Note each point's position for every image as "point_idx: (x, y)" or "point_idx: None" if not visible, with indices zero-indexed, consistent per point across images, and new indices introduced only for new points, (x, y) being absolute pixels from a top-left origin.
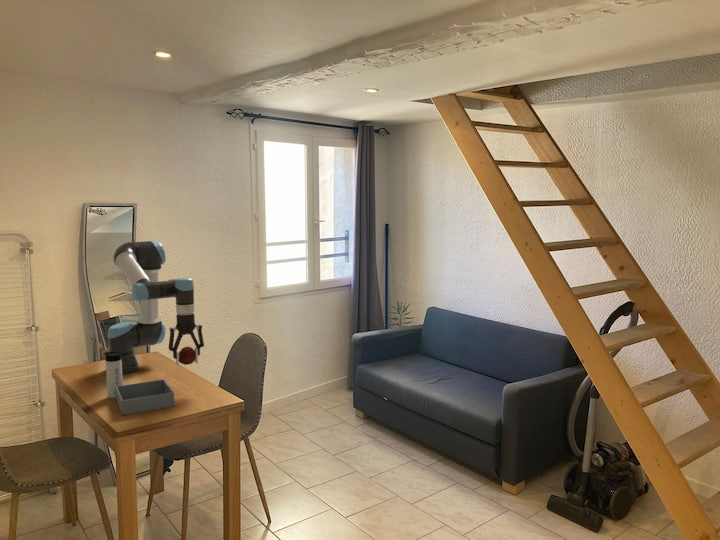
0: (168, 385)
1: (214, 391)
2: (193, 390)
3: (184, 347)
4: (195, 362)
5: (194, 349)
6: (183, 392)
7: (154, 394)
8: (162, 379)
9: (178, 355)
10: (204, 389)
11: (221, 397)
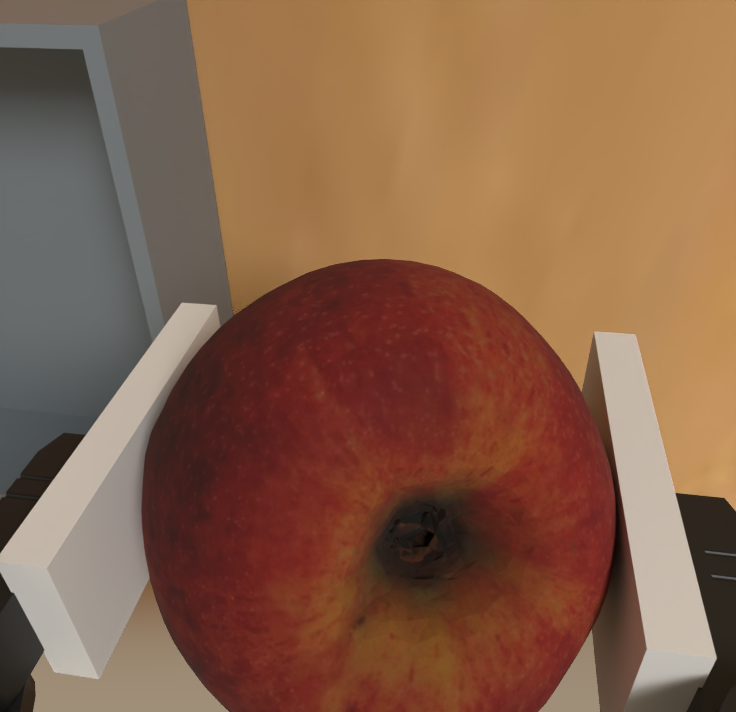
0: (161, 329)
1: (722, 285)
2: (528, 118)
3: (253, 704)
4: (583, 389)
5: (635, 608)
6: (396, 127)
7: (61, 62)
8: (70, 29)
9: (139, 585)
10: (663, 155)
11: (677, 460)
